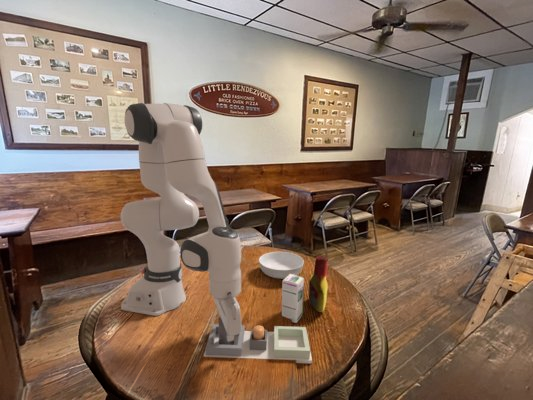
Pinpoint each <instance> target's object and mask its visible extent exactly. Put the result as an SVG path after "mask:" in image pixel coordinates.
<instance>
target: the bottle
mask: <svg viewBox="0 0 533 400" xmlns="http://www.w3.org/2000/svg"><path fill="white" fill-rule="evenodd" d="M327 269H328V259H327V257H326V256H324V255H317V256H316V257H315V262H314V271H313V273H312V274H311V276H310V278H309V281H308V283H309V284H308V299H309V302H310V305H311V307H312V308H313V309H314V311H316V312H319V313H323V312H325V308H326V304H327V297H328V286H329V285H328V281H327Z"/></svg>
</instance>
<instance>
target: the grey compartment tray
mask: <svg viewBox="0 0 533 400" xmlns="http://www.w3.org/2000/svg"><path fill="white" fill-rule="evenodd" d="M245 326H246V325H245V324H241V328H242V330H241V333H240V334H237V335H234V344H233V345H221V344H219V323H213V324H212V327H211V329H210V333H209V335H208V339H207V342H206V345H205V351H204V352H203V357H205V358H229V359H230V358H231V359H252V360H253V359H254V360H256V359H257V360H283V361H284V360H287V361H295V363H296V364H308V365H309V364H310V365H311V364H312V363H313V357H312V353H311V346H310V342H309V336H308V331H307V327H306V326H282V325H274V326H273V328H274V329H273V331H268V329H264V340H254V339H253V329H252V328H251V329H250V330H245Z"/></svg>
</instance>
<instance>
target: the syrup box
mask: <svg viewBox="0 0 533 400" xmlns="http://www.w3.org/2000/svg"><path fill="white" fill-rule="evenodd" d="M281 284H282V285H281V287H282V288H281V290H282V291H281V316H282V317H283V318H286V319H290V320H291V322H292V323H295V324H297V323H298V322H299V320H300V319H301V318H302V316H303V315H304V295H305V294H304V293H305V292H304V291H305V290H304V287H305V277H303V276H300V275H299V274H297V275H294V274H289V275H288V276H287V277H286V278H285V279H283V280H282V282H281Z"/></svg>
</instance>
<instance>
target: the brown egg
mask: <svg viewBox="0 0 533 400" xmlns="http://www.w3.org/2000/svg"><path fill="white" fill-rule="evenodd" d="M264 330H265V328H264V326H263V325H260V324H259V325H255V326H254V327H253V339H254V340H264Z"/></svg>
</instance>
